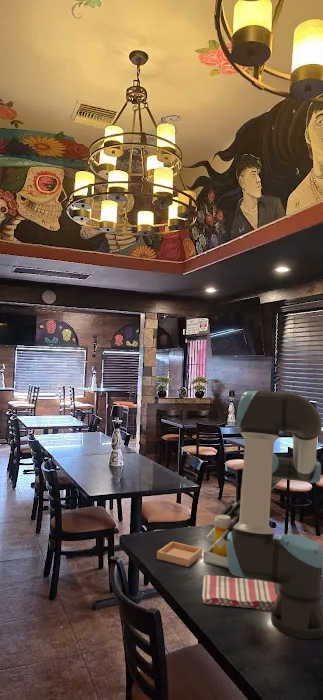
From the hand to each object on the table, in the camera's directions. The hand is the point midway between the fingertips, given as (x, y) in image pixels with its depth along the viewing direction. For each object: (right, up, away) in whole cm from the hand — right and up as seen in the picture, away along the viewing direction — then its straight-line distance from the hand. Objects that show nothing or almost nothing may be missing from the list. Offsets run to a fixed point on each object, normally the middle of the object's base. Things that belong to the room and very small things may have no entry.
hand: (213, 542), depth 176 cm
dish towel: (+5, -7, -25) cm, 27 cm away
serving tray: (-12, -6, +2) cm, 14 cm away
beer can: (+3, -6, +1) cm, 7 cm away
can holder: (+3, -7, +1) cm, 8 cm away
